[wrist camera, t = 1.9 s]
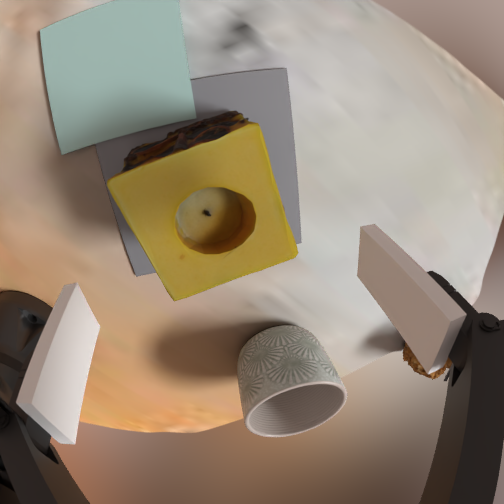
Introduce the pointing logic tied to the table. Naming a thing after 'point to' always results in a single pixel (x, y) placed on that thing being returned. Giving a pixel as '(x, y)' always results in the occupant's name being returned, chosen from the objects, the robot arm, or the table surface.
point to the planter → (287, 382)
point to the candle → (205, 204)
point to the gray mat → (209, 105)
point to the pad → (116, 71)
